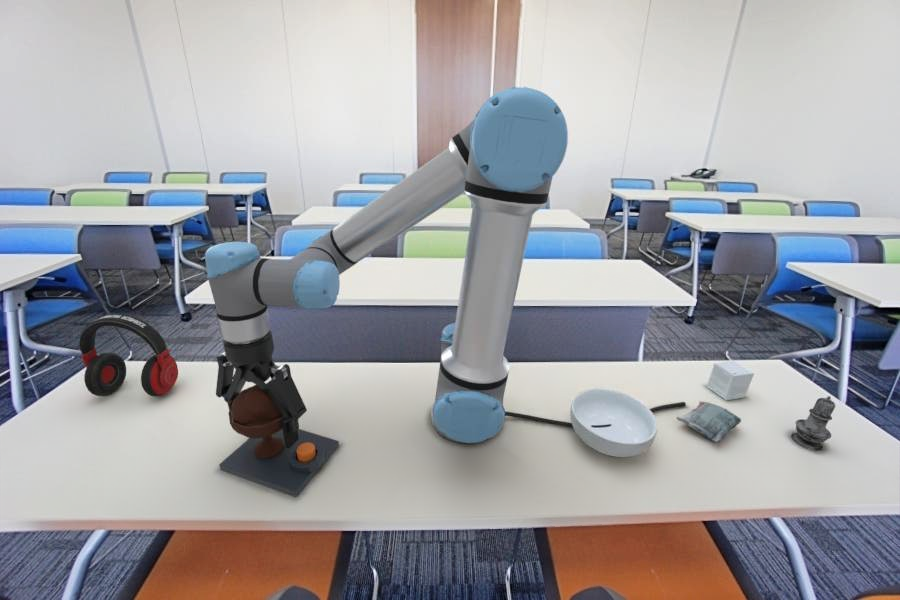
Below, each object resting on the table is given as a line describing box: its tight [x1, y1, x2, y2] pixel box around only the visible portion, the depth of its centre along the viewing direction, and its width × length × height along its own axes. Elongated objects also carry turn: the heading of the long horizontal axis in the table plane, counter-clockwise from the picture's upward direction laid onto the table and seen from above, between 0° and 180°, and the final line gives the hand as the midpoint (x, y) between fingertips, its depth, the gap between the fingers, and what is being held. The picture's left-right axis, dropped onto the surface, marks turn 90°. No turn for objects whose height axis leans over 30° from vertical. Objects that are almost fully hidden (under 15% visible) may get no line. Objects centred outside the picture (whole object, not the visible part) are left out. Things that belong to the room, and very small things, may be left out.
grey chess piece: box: [790, 395, 836, 452], centre depth 83 cm, size 6×6×12 cm
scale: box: [218, 428, 340, 498], centre depth 76 cm, size 18×13×3 cm
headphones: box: [78, 313, 179, 397], centre depth 90 cm, size 18×10×20 cm, turn 92°
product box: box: [706, 360, 755, 401], centre depth 100 cm, size 6×6×7 cm
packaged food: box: [676, 400, 742, 443], centre depth 88 cm, size 9×12×5 cm
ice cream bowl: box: [228, 384, 284, 459], centre depth 74 cm, size 11×11×15 cm
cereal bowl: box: [569, 388, 659, 458], centre depth 83 cm, size 17×17×7 cm
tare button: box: [297, 443, 316, 462], centre depth 74 cm, size 3×3×2 cm
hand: (266, 435), depth 76 cm, fingers closed on ice cream bowl, 11 cm apart
